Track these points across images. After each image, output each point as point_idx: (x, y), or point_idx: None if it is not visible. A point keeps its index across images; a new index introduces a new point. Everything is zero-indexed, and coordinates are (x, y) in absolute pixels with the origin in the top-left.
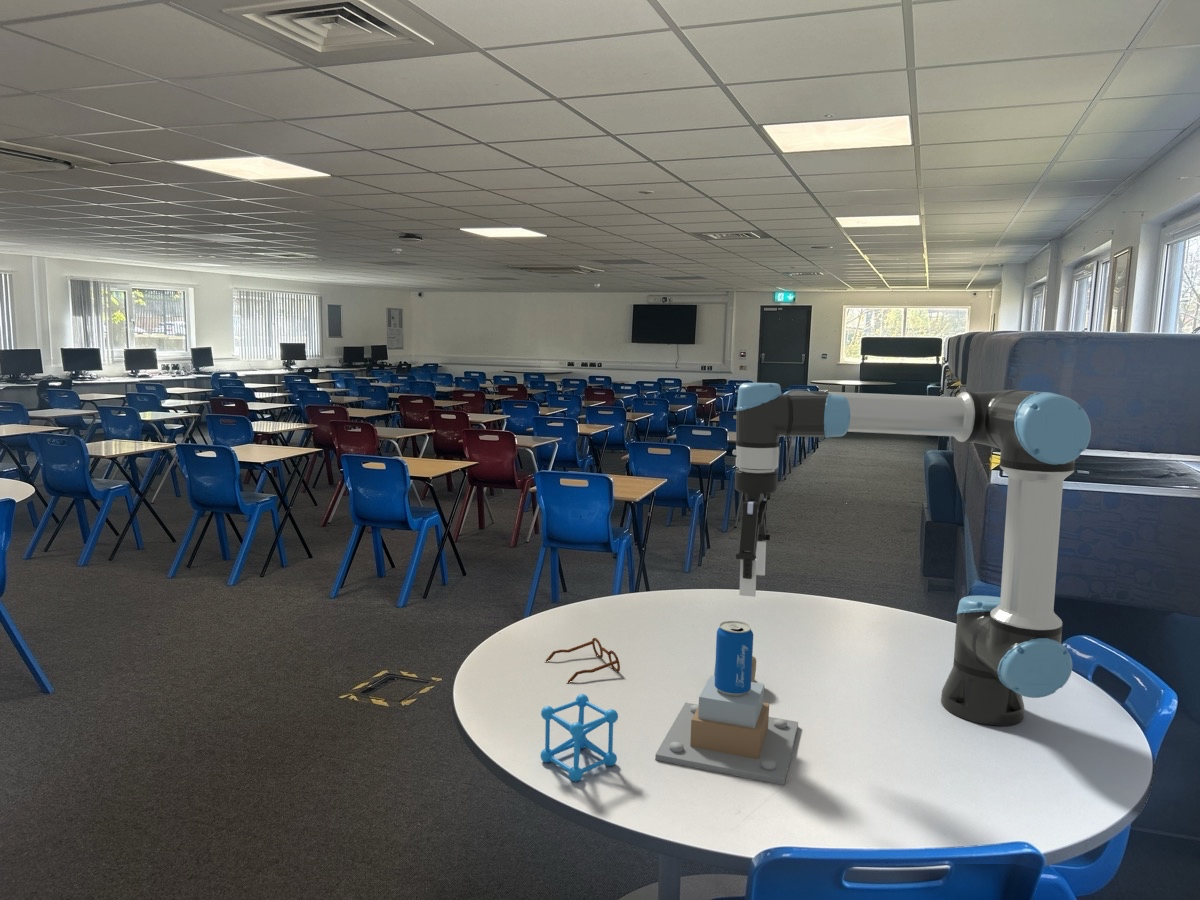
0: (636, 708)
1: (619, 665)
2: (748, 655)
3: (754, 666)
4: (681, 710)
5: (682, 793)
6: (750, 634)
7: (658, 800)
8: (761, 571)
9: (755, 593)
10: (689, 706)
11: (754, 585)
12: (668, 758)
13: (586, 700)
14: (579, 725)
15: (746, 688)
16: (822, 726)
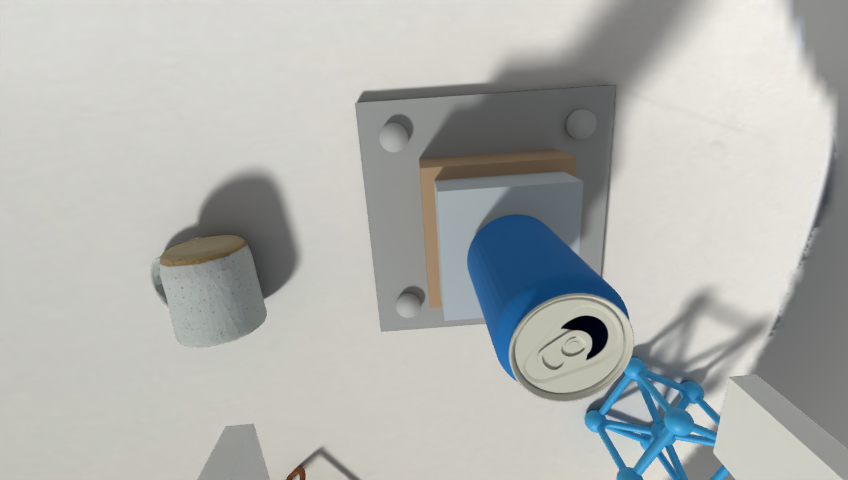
0: (426, 393)
1: (303, 476)
2: (574, 254)
3: (192, 250)
4: (418, 327)
5: (683, 241)
6: (586, 283)
7: (712, 267)
8: (250, 464)
9: (748, 386)
10: (394, 320)
11: (826, 436)
12: None
13: (638, 476)
14: None
15: (541, 222)
16: (325, 48)
